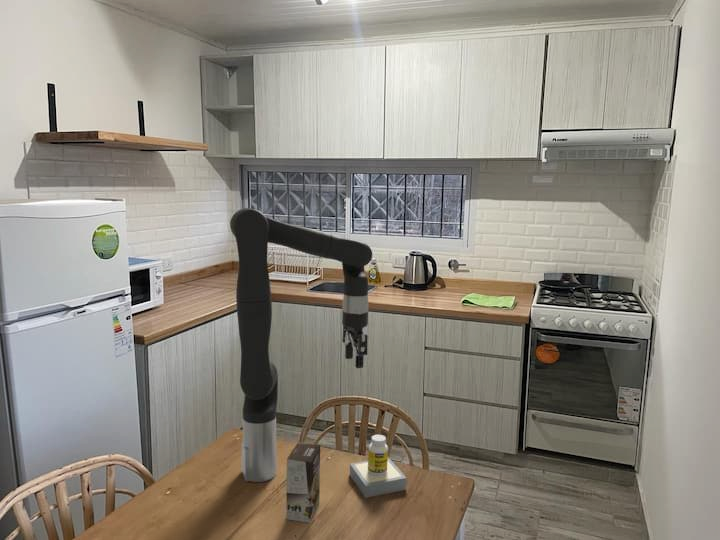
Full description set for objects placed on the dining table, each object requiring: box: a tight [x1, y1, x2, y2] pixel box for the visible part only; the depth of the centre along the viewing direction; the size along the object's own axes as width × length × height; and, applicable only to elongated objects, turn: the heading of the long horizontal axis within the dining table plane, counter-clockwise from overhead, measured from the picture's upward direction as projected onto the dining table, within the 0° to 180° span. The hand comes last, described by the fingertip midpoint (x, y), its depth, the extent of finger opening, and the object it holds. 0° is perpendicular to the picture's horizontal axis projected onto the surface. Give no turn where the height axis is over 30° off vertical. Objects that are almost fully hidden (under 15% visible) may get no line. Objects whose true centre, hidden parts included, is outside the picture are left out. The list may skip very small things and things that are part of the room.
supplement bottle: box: [367, 434, 389, 475], centre depth 149 cm, size 5×5×10 cm
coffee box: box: [285, 442, 321, 524], centre depth 135 cm, size 9×6×16 cm
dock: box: [349, 456, 407, 499], centre depth 150 cm, size 12×12×4 cm
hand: (354, 363), depth 159 cm, fingers open, 8 cm apart
